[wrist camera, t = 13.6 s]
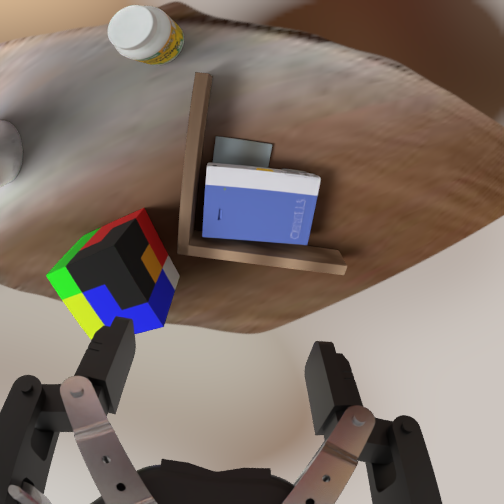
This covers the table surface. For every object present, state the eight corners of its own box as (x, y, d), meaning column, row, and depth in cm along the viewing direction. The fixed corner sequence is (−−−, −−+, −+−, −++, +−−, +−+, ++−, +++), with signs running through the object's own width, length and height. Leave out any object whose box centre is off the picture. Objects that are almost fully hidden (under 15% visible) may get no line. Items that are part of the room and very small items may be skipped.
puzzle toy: (179, 275, 40) (163, 326, 31) (119, 295, 41) (94, 343, 32) (144, 207, 35) (113, 245, 26) (83, 235, 37) (45, 275, 28)
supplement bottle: (168, 12, 25) (142, -15, 16) (194, 46, 27) (175, 27, 18) (128, 41, 26) (89, 26, 18) (153, 75, 28) (119, 68, 20)
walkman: (203, 226, 36) (304, 235, 37) (201, 237, 33) (310, 245, 35) (208, 159, 32) (317, 171, 34) (206, 164, 30) (324, 177, 31)
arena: (183, 238, 37) (177, 253, 34) (201, 75, 28) (195, 72, 25) (335, 258, 39) (344, 275, 35) (374, 108, 30) (388, 110, 27)
